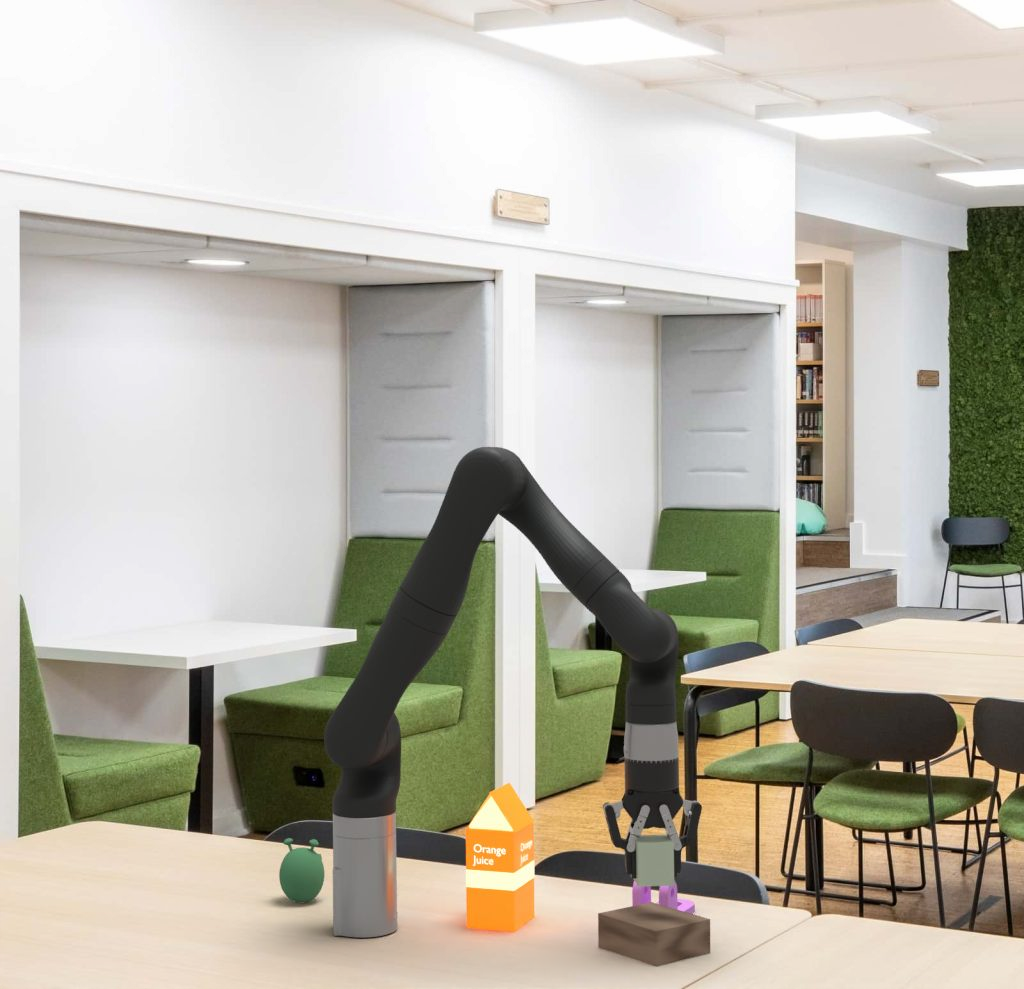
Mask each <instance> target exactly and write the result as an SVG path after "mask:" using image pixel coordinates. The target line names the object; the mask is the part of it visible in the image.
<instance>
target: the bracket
mask: <svg viewBox="0 0 1024 989" xmlns="http://www.w3.org/2000/svg"><path fill="white" fill-rule="evenodd" d="M658 889H659V890H658V902H656V904H659V905H663V906H666V907H670V908H673V909H677V910H680V911H684V912H687V913H690V914H693V913H694V912H696V910H695V909H696V906H695V902H694V901H692V900H689V899H683V898H678V885H677V882H676V880H675V879H674V886H659V888H658ZM631 891H632V895H631V896H632V898H631V899H632V906H636V905H640V904H645V903H650V902H652V886H645V887H638V886H637V884H636V883H635V881H634V880H633V883H632V890H631ZM694 914H695V913H694Z"/></svg>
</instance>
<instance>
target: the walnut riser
mask: <svg viewBox="0 0 1024 989" xmlns="http://www.w3.org/2000/svg"><path fill="white" fill-rule="evenodd" d="M656 903H657V902H656ZM656 903H655V902H652V901H651V902H650V903H645V904H640V905H636V906H633V905H631V906H627V907H622V908H618V909H612V910H608V911H603V912H600V913H599V912H598V914H597V915H598V916H597V917H598V918H597V919H598V921H597V922H598V923H597V924H598V926H597V932H598V933H597V934H598V935H597V936H598V937H597V939H598V940H597V942H598V944H597V945H598V948H599V949H602V950H606V951H609V952H612V953H615V954H617V955H620V956H623V957H626V958H629V959H633V960H636V961H638V962H641V963H645V964H647V965H649V966H653V967H660V966H664V965H668V964H673V963H677V962H680V961H684V960H689V959H691V958H696V957H700V956H704V955H708V954H711V919H710V918H707V917H704V916H700V915H697V914H695V913H694V914H690V913H687V912H684V911H680V910H677V909H673V908H670V907H666V906H663V905H659V904H656Z"/></svg>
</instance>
